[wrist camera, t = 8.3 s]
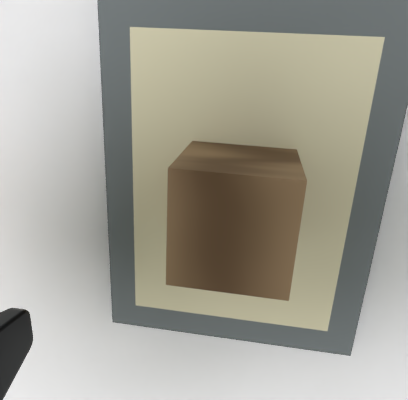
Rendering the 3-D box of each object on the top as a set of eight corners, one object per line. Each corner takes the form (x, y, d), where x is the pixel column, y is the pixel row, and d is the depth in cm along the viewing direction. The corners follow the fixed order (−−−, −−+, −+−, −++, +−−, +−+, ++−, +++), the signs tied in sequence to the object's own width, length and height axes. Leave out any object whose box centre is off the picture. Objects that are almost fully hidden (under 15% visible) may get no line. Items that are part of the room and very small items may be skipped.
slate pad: (426, 0, 16) (432, -3, 15) (348, 348, 22) (350, 356, 22) (102, -10, 18) (96, -12, 17) (116, 315, 24) (112, 322, 23)
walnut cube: (296, 149, 18) (307, 180, 13) (283, 244, 20) (288, 301, 15) (192, 140, 19) (167, 167, 14) (188, 233, 20) (165, 284, 16)
